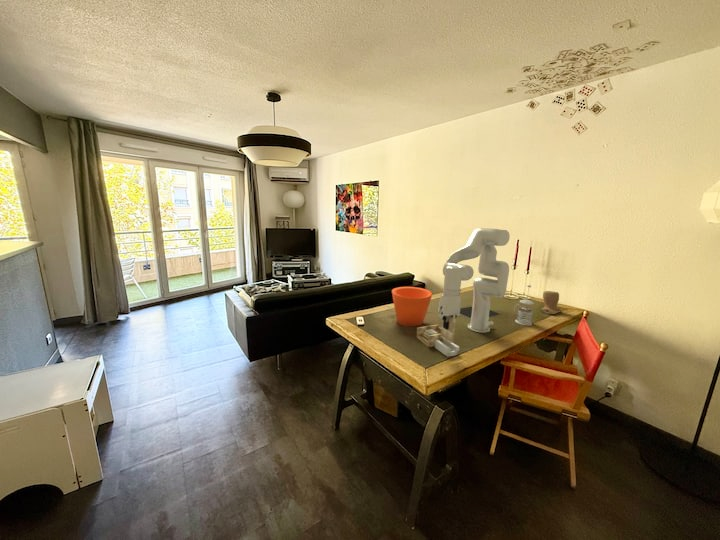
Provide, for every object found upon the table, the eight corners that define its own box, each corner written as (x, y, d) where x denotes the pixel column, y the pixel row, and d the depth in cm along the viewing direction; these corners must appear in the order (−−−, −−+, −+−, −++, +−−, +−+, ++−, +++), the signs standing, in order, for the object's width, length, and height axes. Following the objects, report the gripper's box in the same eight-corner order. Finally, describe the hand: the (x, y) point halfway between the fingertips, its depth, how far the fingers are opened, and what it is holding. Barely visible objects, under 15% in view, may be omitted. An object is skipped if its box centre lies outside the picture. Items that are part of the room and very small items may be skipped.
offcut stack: (430, 337, 148) (430, 328, 147) (437, 342, 142) (438, 333, 141) (422, 338, 146) (423, 329, 145) (429, 344, 140) (430, 334, 139)
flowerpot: (409, 312, 189) (411, 284, 184) (438, 324, 169) (441, 294, 164) (382, 319, 174) (383, 290, 170) (410, 333, 154) (412, 300, 150)
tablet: (473, 319, 176) (451, 309, 194) (473, 320, 176) (451, 310, 194) (501, 314, 187) (478, 305, 205) (501, 315, 187) (478, 306, 205)
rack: (437, 335, 153) (438, 324, 151) (450, 344, 143) (451, 332, 141) (416, 339, 147) (417, 327, 146) (428, 348, 137) (429, 336, 136)
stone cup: (544, 307, 204) (547, 288, 201) (563, 312, 194) (566, 292, 191) (535, 311, 195) (538, 291, 192) (554, 316, 186) (557, 295, 183)
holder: (444, 346, 140) (445, 337, 139) (458, 356, 131) (459, 346, 130) (433, 348, 138) (434, 339, 137) (447, 358, 128) (448, 349, 127)
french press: (535, 326, 168) (541, 287, 163) (514, 324, 171) (520, 286, 166) (528, 320, 178) (534, 283, 173) (509, 318, 180) (514, 282, 175)
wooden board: (443, 336, 136) (445, 314, 134) (453, 342, 130) (455, 319, 127) (440, 337, 135) (442, 314, 133) (449, 343, 129) (452, 319, 127)
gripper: (459, 288, 134) (455, 323, 138) (432, 291, 128) (429, 327, 132) (470, 292, 127) (466, 329, 131) (443, 295, 121) (439, 333, 125)
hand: (447, 328), depth 131 cm, fingers closed on wooden board, 2 cm apart
